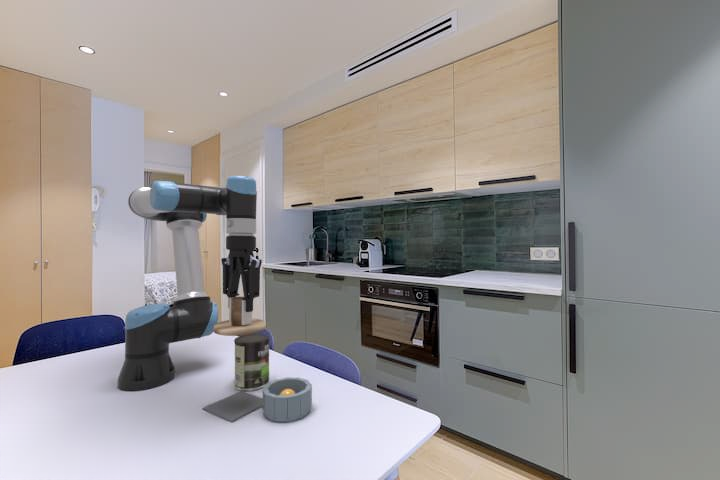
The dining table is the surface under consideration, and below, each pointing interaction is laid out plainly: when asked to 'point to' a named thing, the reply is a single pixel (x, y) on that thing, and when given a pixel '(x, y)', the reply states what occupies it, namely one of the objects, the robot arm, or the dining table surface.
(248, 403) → the mat
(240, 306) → the lid
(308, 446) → the dining table surface
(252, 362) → the coffee can
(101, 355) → the dining table surface
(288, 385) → the bowl
